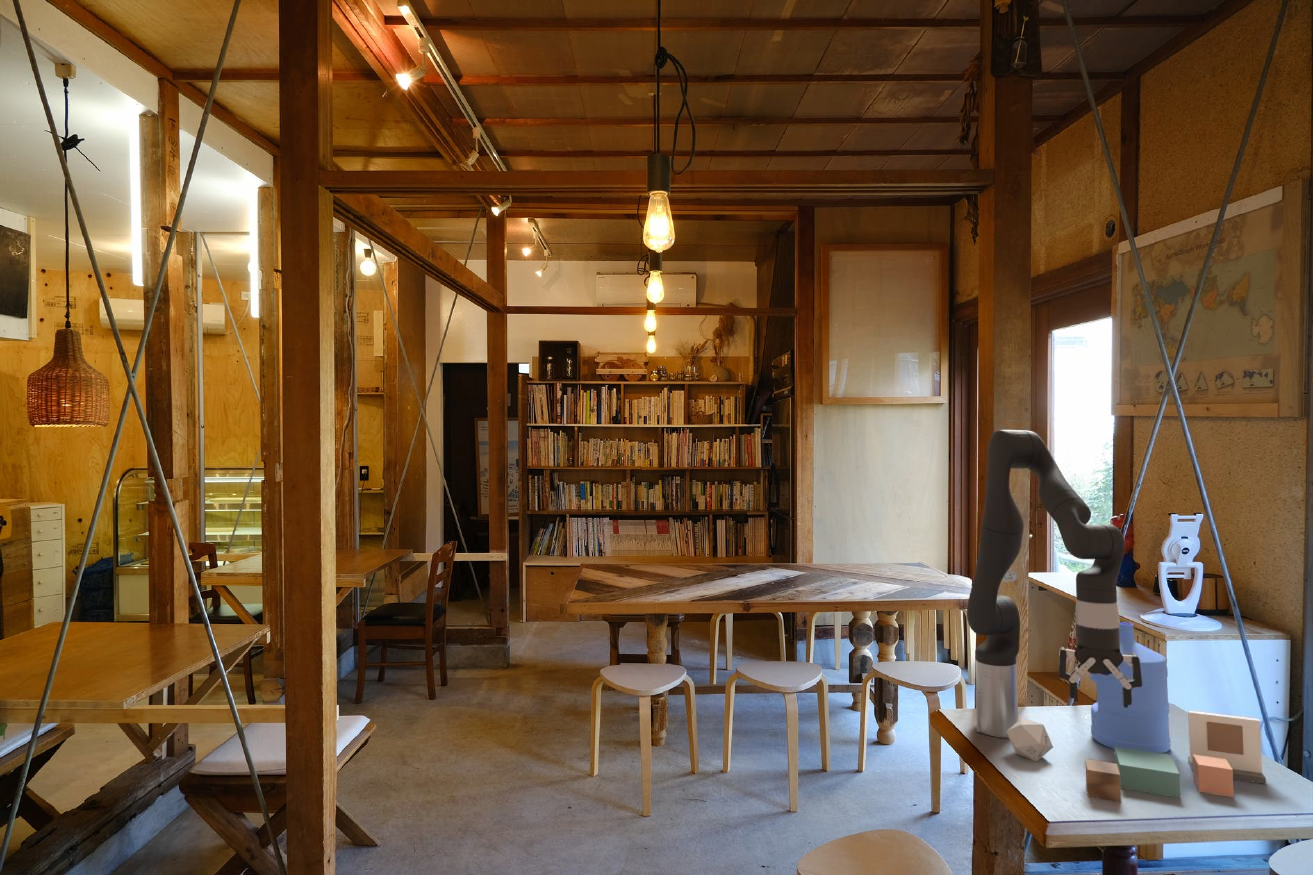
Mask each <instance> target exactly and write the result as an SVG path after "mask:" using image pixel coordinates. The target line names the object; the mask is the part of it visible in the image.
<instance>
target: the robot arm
mask: <svg viewBox="0 0 1313 875" xmlns="http://www.w3.org/2000/svg"><path fill="white" fill-rule="evenodd" d="M1011 469H1016V470H1017V469H1023V470H1024V469H1027V470H1029V471H1031V472H1032V473H1033V474H1034V475H1035V476H1036V477H1037V479H1038V481H1039V482H1038V497H1039V501H1040V503H1041V505H1042V506H1043V508H1044V509H1045V511H1046V512H1047V514H1048V515H1049V516H1050V517H1051V518H1052V520H1053V521H1054V522H1055V524H1056V525H1057V528H1058V531H1059V533H1060V536H1061V539H1062V542H1063V545H1064V548H1065V550H1066V551H1067V552H1068V553H1070V555H1071V556H1073V557H1075V558H1077V559H1079V560H1093V563H1092V565H1091V566H1090V567H1089V568H1086V569H1083V570H1080V571H1079V572H1077V574H1076V576H1075V591H1076V592H1075V593H1076V597H1075V599H1076V603H1075V617H1074V619H1075V630H1076V631H1075V637H1076V640H1075V641H1076V647H1075V648H1074V649H1070V648H1069V649H1068V648H1065V647H1064V646H1060V647H1059V652H1058V677H1059V679H1061V680H1065V681H1067V682H1068V687H1069V696H1070V699H1073V702H1076V703H1078V702H1079V690H1078V680H1079V679H1080V678H1081V677H1083V676H1084V675H1085V673H1087V672H1088V673H1089V674H1090V673H1091V674H1098V673H1100V674H1103V675H1109V674H1112V673H1113V674H1114V676H1115V677H1116V678H1117V679H1118V680H1119V681H1120V682H1121V684H1122V685H1123V686H1122V702H1123V707H1125V708H1128V705H1131V703H1132V695H1131V690H1132V688H1134V687H1141V686H1142V677H1141V668H1140V659H1139V657H1138V656H1137V654H1131V655H1122V654H1121V652H1120V631H1119V624H1120V622H1121V621H1120V613H1119V606H1118V594H1117V593H1118V592H1117V581H1118V578H1119V573H1120V570H1121V566H1122V562H1123V559H1124V556H1125V552H1126V541H1125V537H1124V535H1123V533H1122V531H1121V530H1120V529H1119V527H1117V526H1116V525H1114V524H1110V523H1092V524H1091V523H1089V522H1090V521H1091V517H1092V512H1091V509H1090V507H1089V506H1088V505H1087V503H1086V502H1085V501H1084V500H1083V499H1082V498H1081V497H1080V495H1079V494H1078V493H1077V491H1076V490H1074V488H1073V487H1072V485H1070V483H1069V482H1068V481H1067V480H1066V478H1065V477H1064V475H1063V473H1062V472H1061V469H1060V468H1059V466H1058V464H1057V463H1056V461H1055V459H1054V457H1053V456H1052V454H1051V452H1050V450H1049V448H1048V447H1047V445H1046V443H1045V441H1044V440H1043V439H1042V437H1041V436H1040V435H1039V434H1037V433H1036V432H1035V431H1031V430H1025V429H1023V430H1022V429H1021V430H1020V429H999V430H996V431H994V432H993V433H992V435H991V436H990V439H989V441H988V446H987V457H986V486H985V496H984V498H985V499H984V507H983V508H984V509H983V514H982V520H981V525H980V526H981V527H980V533H979V544H978V553H977V559H976V565H975V571H974V576H973V581H972V585H971V589H970V592H969V596H968V601H967V606H966V618H967V619H966V620H967V622H968V626H969V628H970V629H971V631H972V632H974V633H975V634H977V635H980V636H987V638H986V639H985V640H984V641H983V642H982V643H980V644H979V645H978V646H977V647H975V648H976V649H975V650H974V653H975V654H974V655H975V657H974V658H975V660H974V661H975V684H976V685H975V686H976V687H975V688H976V690H975V713H976V714H975V715H976V718H975V719H976V732H977V733H980V734H981V733H982V734H985V735H987V736H991V737H996V738H1003V739H1004V738H1007V739H1009V737H1008V734H1007V732H1006V731H1007V730H1008V729H1010V728H1011V727H1012V726H1013V725H1014V724H1016V723H1017V722H1018V721H1019V705H1018V704H1019V703H1018V675H1017V674H1018V672H1017V657H1018V654H1019V651H1020V637H1021V634H1020V632H1021V627H1020V626H1021V619H1020V618H1021V616H1020V611H1019V607H1018V605H1017V604H1016V603H1015V601H1014V600H1013V599H1012V598H1011V597H1009V596H1007V595H1003V594H999V589H1000V586H1001V584H1002V581H1003V579H1004V577H1005V576H1006V574H1007V572H1008V571H1009V570H1010V568H1011V567H1012V565H1013V564H1014V563H1015V561H1016V560H1017V557H1018V556H1019V554H1020V551H1021V547H1022V543H1023V535H1024V519H1023V517H1022V514H1021V512H1020V509H1019V508H1018V506H1017V504H1016V502H1015V500H1014V498H1013V496H1012V492H1011V490H1010V489H1011V486H1010V478H1011V477H1010V475H1011ZM1088 523H1089V524H1088ZM998 594H999V595H998ZM1073 656H1074V657H1075V658H1076V659H1077V661H1078V662H1079V663H1078V664H1076V666H1075V668H1073V670H1072V671H1071V672H1067V661H1070V660H1071V658H1072V657H1073ZM1123 660H1124V661H1126V662H1127V664H1128V665H1129V666H1131V667H1132V673H1133V679H1130V680H1128V679H1127V678H1126V677H1125V676H1124V675H1123V673H1122V672H1121V671H1120V670H1119V668H1118V667H1119V665H1120V664H1121V663H1122V662H1123Z"/></svg>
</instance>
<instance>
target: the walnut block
mask: <svg viewBox="0 0 1313 875" xmlns="http://www.w3.org/2000/svg"><path fill="white" fill-rule="evenodd" d="M1084 760H1085V761H1084V762H1085V763H1084V764H1085V783H1086V784H1085V786H1086V792H1087V797H1088V798H1091V799H1098V800H1103V801H1108V802H1114V803H1118V804H1119V803H1122V793H1121V790H1122V788H1121V787H1120V773H1119V770H1118V766H1117V764H1115V762H1113V763H1112V762H1107V761H1101V760H1093V759H1087V758H1085V759H1084Z"/></svg>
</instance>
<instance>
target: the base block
mask: <svg viewBox="0 0 1313 875" xmlns="http://www.w3.org/2000/svg"><path fill="white" fill-rule="evenodd" d="M1175 763H1176V762H1174V759H1173V757H1172V756H1171V754H1167V753H1163V754H1161V753H1155V752H1148V751H1141V750H1134V749H1127V748H1120V747H1115V750H1114V764H1117V766H1118V770H1119V773H1120V787H1121V789H1125V790H1131V791H1137V792H1144V793H1149V794H1150V793H1151V794H1156V795H1162V796H1167V797H1174V798H1180V799H1181V798H1182V797H1181V776H1180V772H1179V769H1178V767H1177V765H1176V764H1175Z"/></svg>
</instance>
